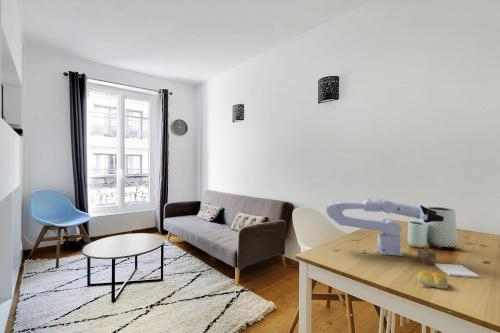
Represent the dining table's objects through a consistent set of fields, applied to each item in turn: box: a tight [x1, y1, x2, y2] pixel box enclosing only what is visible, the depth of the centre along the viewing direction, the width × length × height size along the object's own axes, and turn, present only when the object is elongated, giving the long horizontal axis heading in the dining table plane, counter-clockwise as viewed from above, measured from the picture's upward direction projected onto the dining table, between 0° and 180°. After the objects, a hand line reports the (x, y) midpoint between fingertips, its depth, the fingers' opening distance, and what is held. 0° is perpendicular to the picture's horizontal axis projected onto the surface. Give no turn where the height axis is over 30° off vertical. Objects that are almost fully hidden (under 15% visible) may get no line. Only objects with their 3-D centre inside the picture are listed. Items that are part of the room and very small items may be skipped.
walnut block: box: [417, 248, 437, 266], centre depth 108 cm, size 5×5×5 cm
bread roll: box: [416, 270, 449, 290], centre depth 88 cm, size 8×9×4 cm
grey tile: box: [434, 262, 480, 279], centre depth 98 cm, size 10×10×1 cm
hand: (439, 216), depth 114 cm, fingers open, 7 cm apart
